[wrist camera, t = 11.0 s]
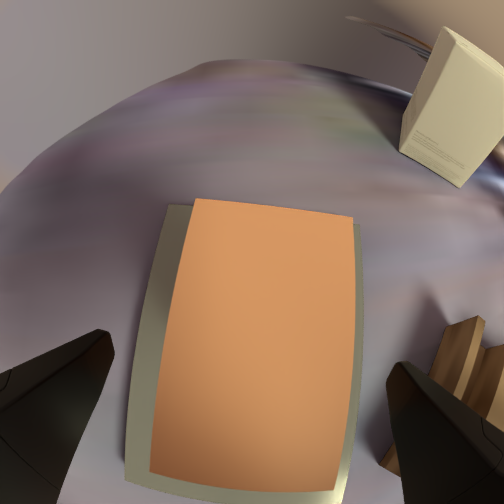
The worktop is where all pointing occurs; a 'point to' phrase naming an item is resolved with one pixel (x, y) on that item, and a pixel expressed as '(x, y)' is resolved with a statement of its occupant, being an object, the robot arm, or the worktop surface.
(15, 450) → the robot arm
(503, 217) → the worktop surface
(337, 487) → the slate tile
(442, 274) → the worktop surface
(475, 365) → the walnut rack
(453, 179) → the supplement box
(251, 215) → the orange rectangular block
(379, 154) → the worktop surface
